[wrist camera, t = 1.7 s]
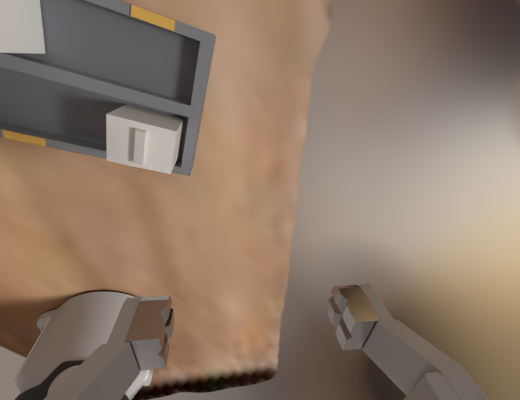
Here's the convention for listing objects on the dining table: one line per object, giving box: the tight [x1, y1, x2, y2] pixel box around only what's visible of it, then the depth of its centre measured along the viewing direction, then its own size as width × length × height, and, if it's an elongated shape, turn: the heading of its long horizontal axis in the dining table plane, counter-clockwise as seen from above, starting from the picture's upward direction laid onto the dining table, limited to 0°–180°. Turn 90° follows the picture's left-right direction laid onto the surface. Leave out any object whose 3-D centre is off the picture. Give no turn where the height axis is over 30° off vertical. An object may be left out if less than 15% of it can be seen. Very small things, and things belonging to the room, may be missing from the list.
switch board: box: [0, 0, 216, 176], centre depth 20 cm, size 12×19×3 cm, turn 72°
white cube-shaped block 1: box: [106, 104, 184, 174], centre depth 21 cm, size 4×5×5 cm
